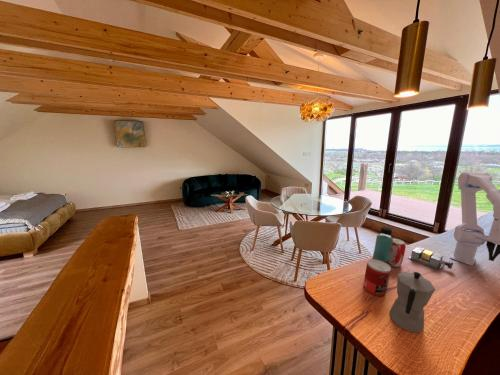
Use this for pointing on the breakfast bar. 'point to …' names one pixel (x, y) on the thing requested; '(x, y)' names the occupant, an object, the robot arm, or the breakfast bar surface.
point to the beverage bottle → (383, 245)
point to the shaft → (444, 263)
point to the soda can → (397, 252)
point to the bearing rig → (433, 260)
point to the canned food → (376, 277)
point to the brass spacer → (426, 255)
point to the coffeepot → (411, 301)
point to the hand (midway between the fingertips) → (491, 259)
